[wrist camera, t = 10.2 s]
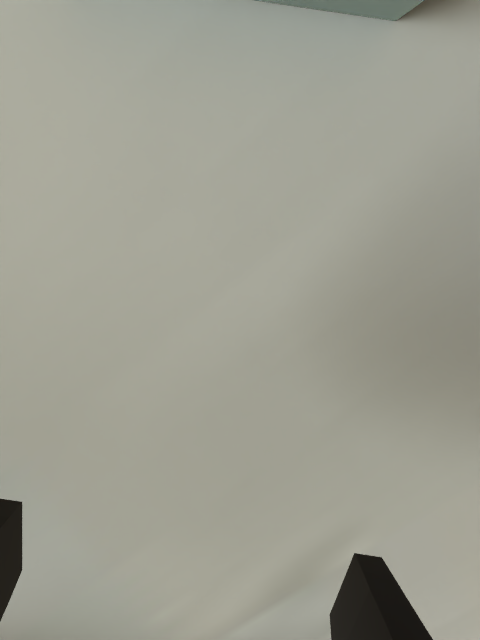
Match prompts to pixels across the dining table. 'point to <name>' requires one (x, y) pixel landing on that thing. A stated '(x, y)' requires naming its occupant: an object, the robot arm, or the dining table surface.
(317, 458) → the dining table surface
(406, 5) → the tray
